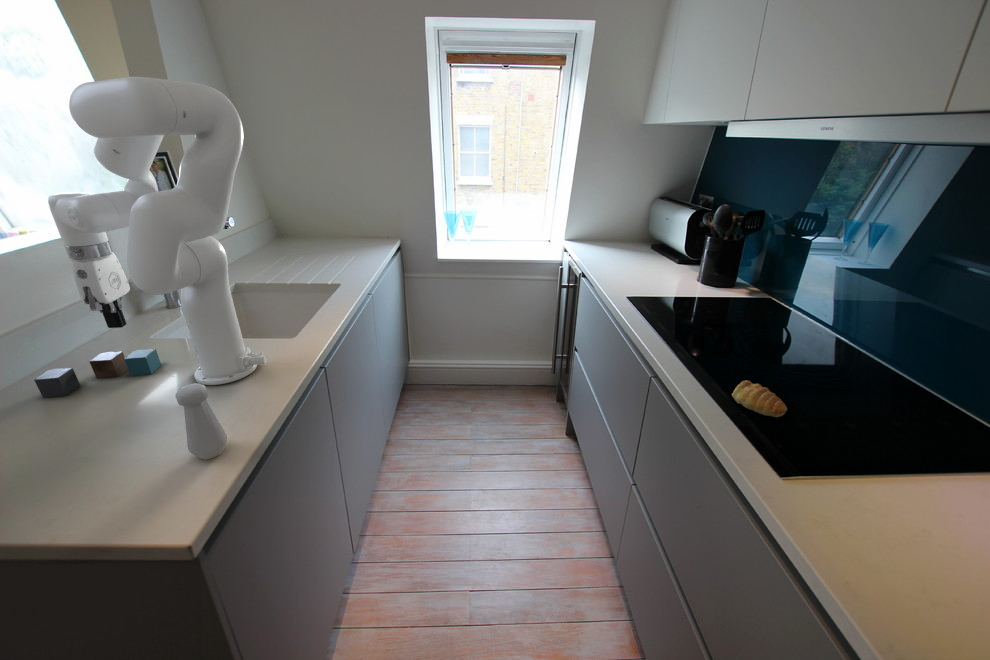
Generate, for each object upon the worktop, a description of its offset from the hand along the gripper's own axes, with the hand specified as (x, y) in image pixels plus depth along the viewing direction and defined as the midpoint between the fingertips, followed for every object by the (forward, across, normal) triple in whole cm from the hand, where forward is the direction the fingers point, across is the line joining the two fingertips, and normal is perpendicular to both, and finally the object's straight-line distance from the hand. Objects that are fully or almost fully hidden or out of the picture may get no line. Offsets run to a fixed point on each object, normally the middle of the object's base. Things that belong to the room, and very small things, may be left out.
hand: (117, 326), depth 106 cm
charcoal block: (+8, -15, +5) cm, 18 cm away
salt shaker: (+8, -42, -35) cm, 55 cm away
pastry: (+5, -45, -138) cm, 145 cm away
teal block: (+8, -8, -8) cm, 14 cm away
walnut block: (+8, -8, -1) cm, 11 cm away
